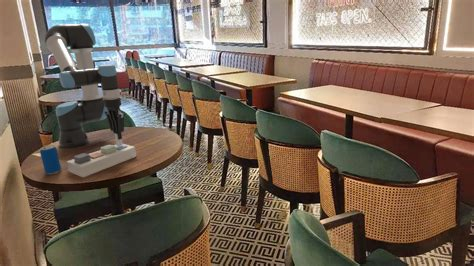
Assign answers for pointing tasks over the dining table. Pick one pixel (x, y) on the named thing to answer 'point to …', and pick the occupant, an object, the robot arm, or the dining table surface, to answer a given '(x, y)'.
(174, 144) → the dining table surface
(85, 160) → the charcoal key
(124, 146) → the slate key
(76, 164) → the keypad
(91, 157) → the terracotta key
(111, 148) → the sage key
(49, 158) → the beverage can
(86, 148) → the dining table surface
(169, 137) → the dining table surface
